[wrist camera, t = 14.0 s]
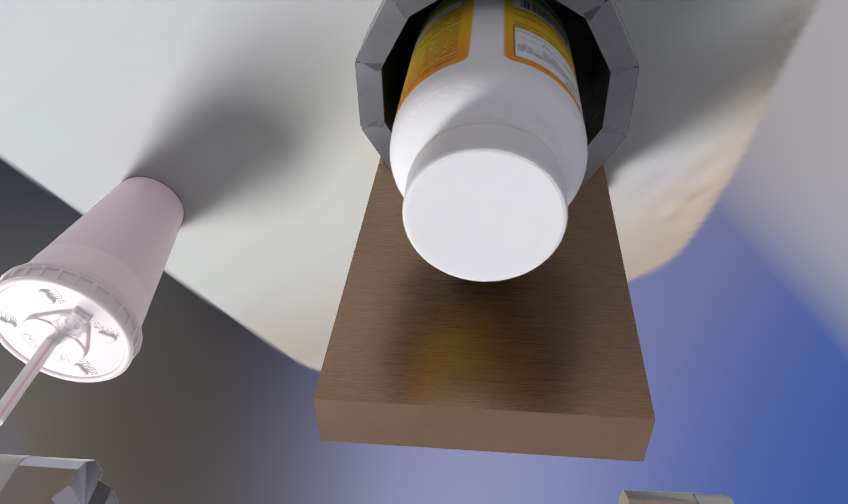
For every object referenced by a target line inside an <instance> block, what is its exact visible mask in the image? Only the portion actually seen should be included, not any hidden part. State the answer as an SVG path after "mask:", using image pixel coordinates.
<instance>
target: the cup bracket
mask: <svg viewBox="0 0 848 504" xmlns="http://www.w3.org/2000/svg"><path fill="white" fill-rule="evenodd" d="M442 1H444V0H383V1H382V3H381V5H380V7H379V9H378V11H377V13H376V15H375V17H374V19H373V21H372V23H371V25H370V27H369V30H368V32H367V34H366V37H365V39H364V41H363V44H362V46H361V49H360V51H359V53H358V56H357V58H356V62H355V67H356V78H357V90H358V101H359V113H360V124H361V127H362V130H363V132H364V133H365V135H366V136H367V137H368V139H369V140H370V142H371V143H372V144H373V146H374V147H375V149H376V150H377V151H378V153H379V154H380V156H381V158H380V161H379V165H378V169H377V172H376V176H375V179H374V183H373V186H372V190H371V194H370V197H369V201H368V204H367V208H366V212H365V215H364V219H363V222H362V226H361V230H360V233H359V237H358V240H357V244H356V247H355V251H354V255H353V258H352V262H351V265H350V269H349V273H348V276H347V280H346V283H345V287H344V291H343V294H342V298H341V301H340V305H339V308H338V312H337V316H336V319H335V323H334V326H333V330H332V334H331V337H330V341H329V344H328V348H327V352H326V355H325V359H324V362H323V366H322V369H321V373H320V377H319V380H318V384H317V388H316V391H315V395H314V399H313V400H314V406H315V411H316V416H317V422H318V428H319V433H320V439H321V440H323V441H338V442H353V443H369V444H384V445H399V446H415V447H431V448H446V449H461V450H476V451H492V452H507V453H522V454H537V455H553V456H568V457H584V458H600V459H614V460H631V461H644V457H645V453H646V450H647V447H648V443H649V440H650V436H651V433H652V429H653V426H654V422H655V416H654V411H653V406H652V401H651V396H650V391H649V387H648V382H647V377H646V372H645V367H644V362H643V357H642V352H641V347H640V343H639V338H638V333H637V328H636V323H635V318H634V313H633V308H632V303H631V299H630V294H629V289H628V284H627V279H626V274H625V269H624V264H623V259H622V254H621V250H620V245H619V240H618V235H617V230H616V225H615V220H614V215H613V210H612V206H611V201H610V196H609V191H608V186H607V181H606V176H605V171H604V166H603V162H604V161H605V160H606V159H607V158H608V156H609V155H610V154H611V153H612V152H613V151H614V149H615V148H616V147H617V146H618V145H619V144H620V142H621V141H622V140H623V139H624V138H625V137H626V134H625V133H627V132H628V127H629V121H630V115H631V110H632V104H633V98H634V93H635V87H636V81H637V76H638V70H639V67H638V65H639V64H638V62H637V59H636V56H635V53H634V50H633V48H632V45H631V42H630V39H629V36H628V34H627V31H626V28H625V26H624V23H623V21H622V19H621V17H620V14H619V12H618V10H617V7H616V5H615V3H614V1H613V0H544V1H545V2H546V3H547V4H548V5H549V6H550V7H551V8H552V9H553V10H554V12H555V13H556V14H557V16H558V17H559V19H560V20H561V22H562V24H563V26H564V28H565V31H566V33H567V36H568V39H569V42H570V47H571V51H572V57H573V63H574V68H575V74H576V79H577V85H578V91H579V96H580V102H581V107H582V113H583V118H584V123H585V129H586V135H587V148H588V156H587V165H586V171H585V174H584V178H583V181H582V184H581V186H580V188H579V190H578V192H577V194H576V196H575V197H574V199H573V200H572V202H571V203H570V204H569V206H568V222H567V227H566V230H565V233H564V236H563V238H562V240H561V242H560V244H559V246H558V247H557V249H556V250H555V251H554V252H553V254H552V255H551V256H550V257H549V258H548V259H547V260H545V261H544V262H543V263H542V264H541V265H539V266H538V267H536V268H534V269H533V270H531V271H529V272H527V273H525V274H522V275H520V276H517V277H513V278H510V279H506V280H500V281H486V282H483V281H471V280H467V279H462V278H459V277H455V276H452V275H449V274H447V273H445V272H443V271H441V270H439V269H437V268H436V267H434V266H433V265H431V264H430V263H428V262H427V261H426V260H425V259H424V258H423V257H422V256H421V255H420V254H419V253H418V252H417V251H416V249H415V248H414V247H413V245H412V244H411V242H410V240H409V238H408V236H407V233H406V230H405V227H404V223H403V215H402V209H403V201H404V197H403V196H402V194H401V192H400V191H399V189H398V186H397V184H396V182H395V179H394V176H393V173H392V169H391V163H390V141H391V134H392V129H393V124H394V120H395V116H396V113H397V109H398V105H399V102H400V98H401V94H402V91H403V87H404V83H405V80H406V76H407V72H408V69H409V65H410V61H411V57H412V53H413V50H414V46H415V43H416V40H417V37H418V34H419V32H420V30H421V28H422V25H423V24H424V22H425V20H426V19H427V17H428V16H429V15H430V13H431V12H432V11H433V10H434V9H435V8H436V7H437V6H438V5H439V4H440V3H441V2H442Z"/></svg>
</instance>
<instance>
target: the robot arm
mask: <svg viewBox="0 0 848 504" xmlns="http://www.w3.org/2000/svg"><path fill="white" fill-rule="evenodd" d="M102 474H103V471H102V469H101V468H100V466H99V465H98V463H97V462H96V460H83V459H66V458H49V457H48V458H47V457H36V456H26V455H5V454H0V504H118V502H117V497H116V495H115V493H114V491H113V489H112V488H111V487H109V486H107V485H106V484H104V483H103V482H101V481H100V478H101V476H102ZM619 504H734V503H733V501H732V500H731V498H730V497H728V496H726V495H710V494H691V493H681V492H655V491H631V490H630V491H629V490H624V491H623V492H622V493H621V495H620V499H619Z"/></svg>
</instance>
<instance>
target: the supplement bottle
mask: <svg viewBox="0 0 848 504" xmlns="http://www.w3.org/2000/svg"><path fill="white" fill-rule="evenodd" d="M587 156H588V148H587V135H586V129H585V123H584V118H583V113H582V107H581V102H580V96H579V91H578V85H577V79H576V74H575V68H574V63H573V57H572V51H571V47H570V42H569V39H568V36H567V33H566V31H565V28H564V26H563V24H562V22H561V20H560V19H559V17H558V16H557V14H556V13H555V12H554V10H553V9H552V8H551V7H550V6H549V5H548V4H547V3H546V2H545V1H544V0H444V1H442V2H441V3H440V4H439V5H438V6H437V7H436V8H435V9H434V10H433V11H432V12H431V13H430V15H429V16H428V17H427V19H426V20H425V22H424V24H423V25H422V28H421V30H420V32H419V34H418V37H417V40H416V43H415V46H414V50H413V53H412V57H411V61H410V65H409V69H408V72H407V76H406V80H405V83H404V87H403V91H402V94H401V98H400V102H399V105H398V109H397V113H396V116H395V120H394V124H393V129H392V134H391V141H390V163H391V169H392V173H393V176H394V179H395V182H396V184H397V186H398V189H399V191H400V192H401V194H402V196H403V197H404V201H403V209H402V215H403V223H404V227H405V230H406V233H407V236H408V238H409V240H410V242H411V244H412V245H413V247H414V248H415V249H416V251H417V252H418V253H419V254H420V255H421V256H422V257H423V258H424V259H425V260H426V261H427V262H428V263H430V264H431V265H433V266H434V267H436V268H437V269H439V270H441V271H443V272H445V273H447V274H449V275H452V276H455V277H459V278H462V279H467V280H471V281H483V282H486V281H500V280H506V279H510V278H513V277H517V276H520V275H522V274H525V273H527V272H529V271H531V270H533V269H534V268H536V267H538V266H539V265H541V264H542V263H543V262H544V261H545V260H547V259H548V258H549V257H550V256H551V255H552V254H553V252H554V251H555V250H556V249H557V247H558V246H559V244H560V242H561V240H562V238H563V236H564V233H565V230H566V227H567V222H568V206H569V204H570V203H571V202H572V200H573V199H574V197H575V196H576V194H577V192H578V190H579V188H580V186H581V184H582V181H583V178H584V174H585V171H586V165H587Z"/></svg>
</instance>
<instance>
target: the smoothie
mask: <svg viewBox="0 0 848 504" xmlns="http://www.w3.org/2000/svg"><path fill="white" fill-rule="evenodd" d="M183 218H184V210H183V206H182V203H181V201H180V200H179V198H178V197H177V195H176V194H175V193H174V192H173V191H172V190H171V189H170V188H169V187H167V186H166V185H164V184H163V183H161V182H159V181H157V180H154V179H151V178H147V177H132V178H129V179H126V180H124V181H123V182H122V183H120V184H119V185H118V186H117V187H116V188H115V189H113V190H112V191H111V192H110V193H109V194H108V195H106V196H105V197H104V198H103V199H102V200H101V201H99V202H98V203H97V204H96V205H95V206H94V207H92V208H91V209H90V210H89V211H88V212H87V213H86V214H84V215H83V216H82V217H81V218H80V219H79V220H77V221H76V222H75V223H74V224H73V225H72V226H70V227H69V228H68V229H67V230H66V231H65V232H64V233H62V234H61V235H60V236H59V237H58V238H57V239H55V240H54V241H53V242H52V243H51V244H50V245H48V246H47V247H46V248H45V249H44V250H42V251H41V252H40V253H39V254H38V255H36V256H35V257H34V258H33V259H32V260H31V261H30V262H29V263H27V264H23V265H19V266H16V267H13V268H12V269H10V270H9V271H8V272H6V273H4V274H3V275H2V276H1V278H0V343H1V344H2V345H3V346H4V347H5V348H6V349H7V350H8V351H10V352H11V353H12V354H13V355H14V356H15V357H17V358H18V359H20V360H21V361H23V362H25V363H26V366H25V367H24V369H23V370H22V371H21V373H20V374H19V376H18V377H17V378H16V380H15V381H14V382H13V384H12V385H11V387H10V388H9V389H8V391H7V392H6V393H5V395H4V396H3V398H2V399H1V400H0V425H2V424H3V422H4V421H5V419H6V418H7V416H8V415H9V413H10V412H11V411H12V409H13V408H14V406H15V405H16V404H17V402H18V401H19V399H20V398H21V396H22V395H23V393H24V392H25V391H26V389H27V388H28V386H29V385H30V384H31V382H32V381H33V379H34V378H35V376H36V375H37V373H38V372H39V371H41V372H44V373H46V374H48V375H51V376H54V377H57V378H61V379H64V380H70V381H76V382H99V381H105V380H109V379H112V378H114V377H116V376H118V375H120V374H121V373H123V372H124V371H125V370H126V369H127V367H128V366H129V365H130V363H131V361H132V359H133V358H134V357H135V356H136V354H137V353H138V352H139V350H140V347H141V343H142V340H143V338H142V329H141V326H142V323H143V321H144V319H145V316H146V314H147V311H148V308H149V305H150V303H151V300H152V298H153V295H154V293H155V290H156V288H157V285H158V282H159V280H160V277H161V275H162V272H163V270H164V267H165V265H166V262H167V260H168V257H169V254H170V252H171V249H172V247H173V244H174V242H175V239H176V237H177V234H178V232H179V229H180V226H181V224H182V221H183Z"/></svg>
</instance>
